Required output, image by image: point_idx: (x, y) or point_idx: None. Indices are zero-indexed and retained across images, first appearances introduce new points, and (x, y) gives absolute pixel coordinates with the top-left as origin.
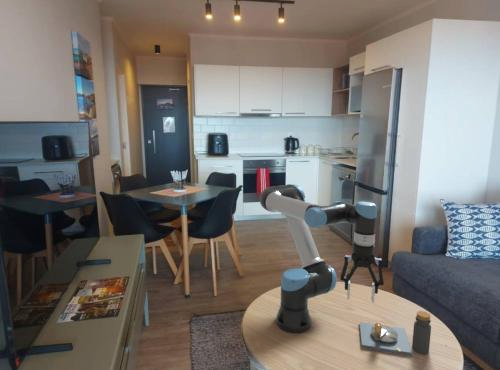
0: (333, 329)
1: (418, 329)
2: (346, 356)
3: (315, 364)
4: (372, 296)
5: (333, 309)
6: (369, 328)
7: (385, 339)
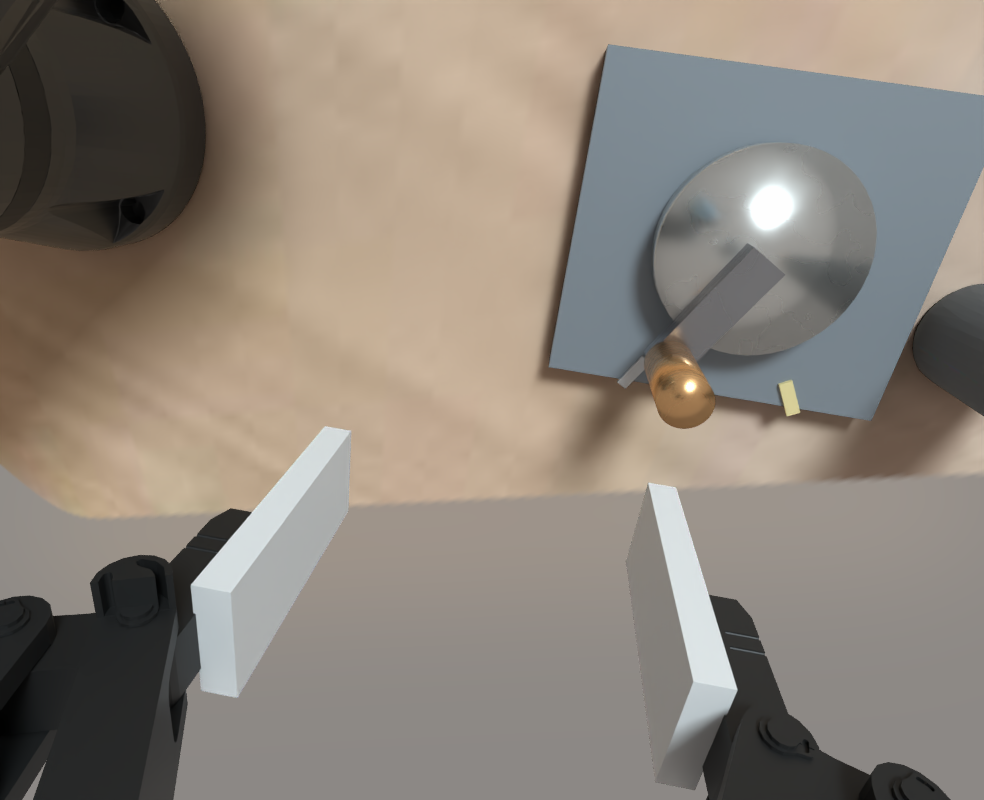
0: (379, 156)
1: None
2: (443, 436)
3: None
4: (636, 622)
5: None
6: (667, 150)
7: (728, 352)
